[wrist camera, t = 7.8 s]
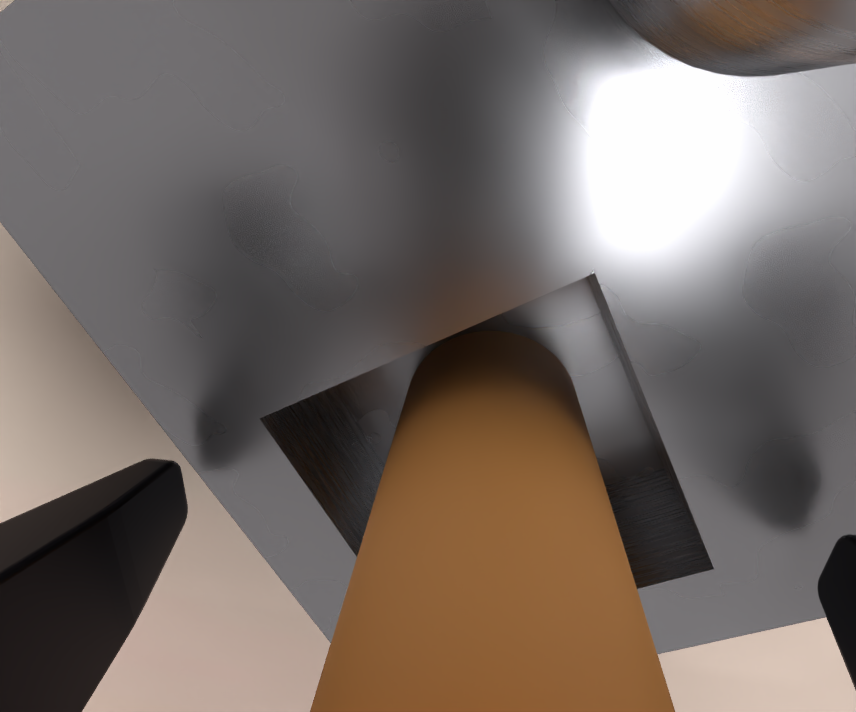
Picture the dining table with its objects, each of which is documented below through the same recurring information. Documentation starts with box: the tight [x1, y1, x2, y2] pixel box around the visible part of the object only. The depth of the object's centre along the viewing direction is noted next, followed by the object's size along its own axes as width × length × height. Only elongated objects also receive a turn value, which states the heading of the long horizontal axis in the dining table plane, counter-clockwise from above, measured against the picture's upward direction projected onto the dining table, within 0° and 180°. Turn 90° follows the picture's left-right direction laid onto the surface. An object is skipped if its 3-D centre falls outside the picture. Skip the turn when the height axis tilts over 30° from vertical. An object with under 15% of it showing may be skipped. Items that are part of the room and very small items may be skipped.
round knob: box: [310, 331, 675, 712], centre depth 6 cm, size 4×4×8 cm
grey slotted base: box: [0, 0, 856, 654], centre depth 7 cm, size 12×12×6 cm
